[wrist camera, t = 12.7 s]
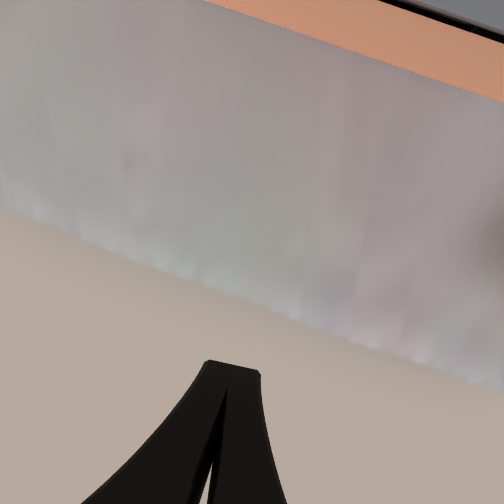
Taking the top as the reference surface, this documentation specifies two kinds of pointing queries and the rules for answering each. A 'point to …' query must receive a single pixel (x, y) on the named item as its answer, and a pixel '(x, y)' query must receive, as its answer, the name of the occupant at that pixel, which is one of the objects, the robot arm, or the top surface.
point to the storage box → (472, 14)
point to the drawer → (391, 38)
